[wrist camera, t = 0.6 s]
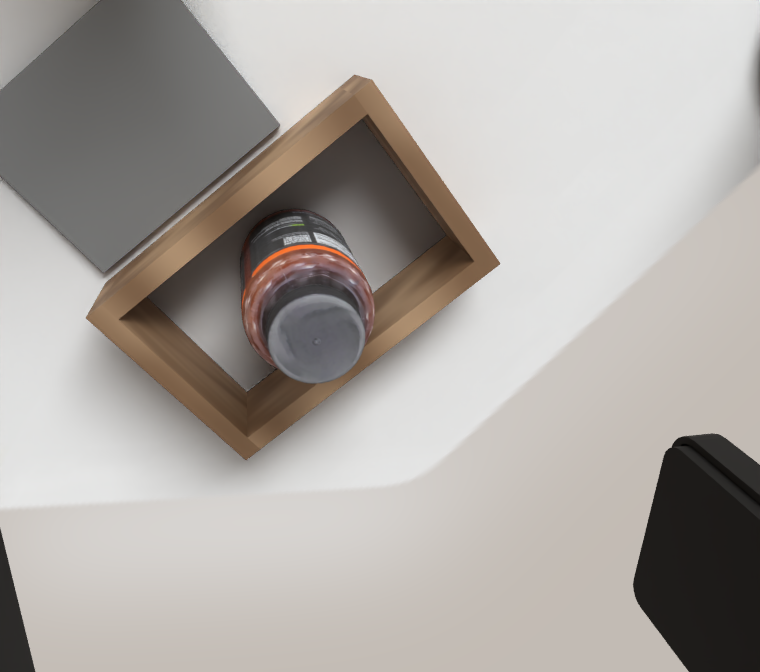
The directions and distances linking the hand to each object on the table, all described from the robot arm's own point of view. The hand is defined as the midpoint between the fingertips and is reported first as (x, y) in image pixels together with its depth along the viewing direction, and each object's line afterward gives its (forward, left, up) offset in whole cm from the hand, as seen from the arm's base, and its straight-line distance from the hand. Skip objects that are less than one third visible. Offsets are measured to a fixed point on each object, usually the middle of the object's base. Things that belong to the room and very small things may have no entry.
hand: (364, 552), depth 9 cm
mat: (+4, -6, -28) cm, 29 cm away
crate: (+2, +4, -28) cm, 28 cm away
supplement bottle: (+2, +4, -28) cm, 29 cm away
